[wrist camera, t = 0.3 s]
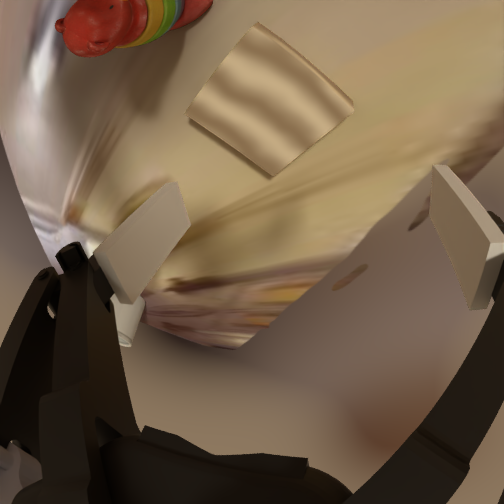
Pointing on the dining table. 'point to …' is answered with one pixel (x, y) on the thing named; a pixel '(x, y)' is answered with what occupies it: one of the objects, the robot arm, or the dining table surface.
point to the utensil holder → (127, 319)
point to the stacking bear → (123, 23)
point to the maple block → (269, 101)
